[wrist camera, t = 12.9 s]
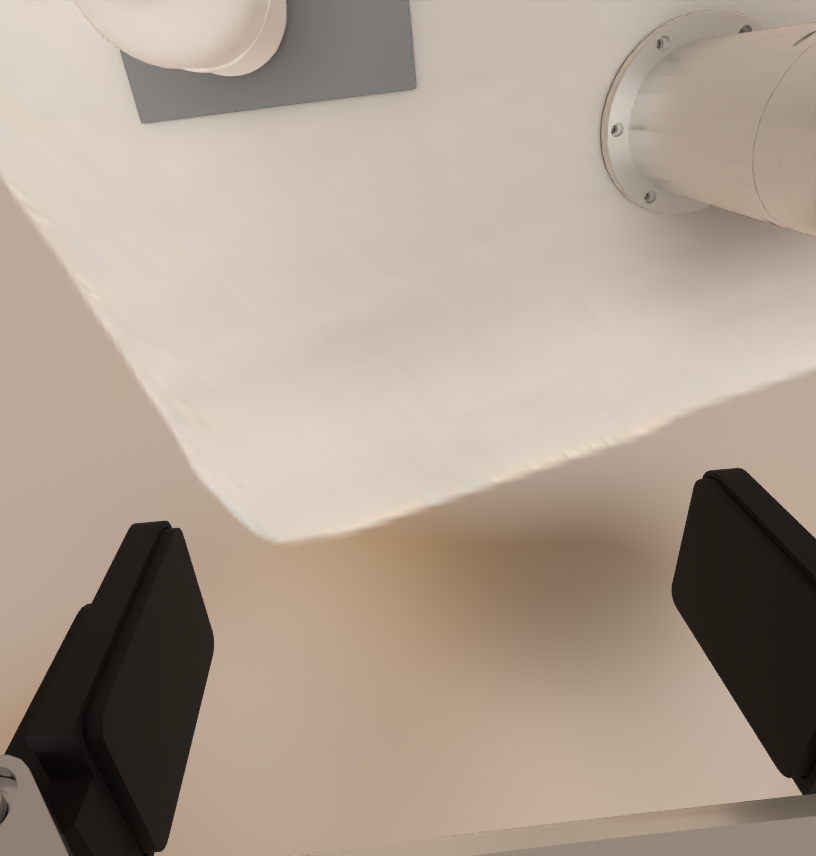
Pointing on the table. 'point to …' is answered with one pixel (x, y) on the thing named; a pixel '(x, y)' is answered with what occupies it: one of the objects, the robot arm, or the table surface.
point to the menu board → (293, 64)
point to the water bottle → (192, 31)
